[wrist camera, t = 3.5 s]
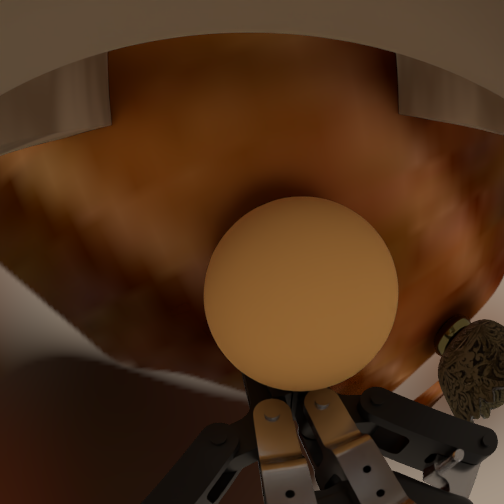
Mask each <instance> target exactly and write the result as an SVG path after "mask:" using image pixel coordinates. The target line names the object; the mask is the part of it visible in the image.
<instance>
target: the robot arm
mask: <svg viewBox="0 0 504 504" xmlns="http://www.w3.org/2000/svg"><path fill="white" fill-rule="evenodd" d="M242 376H243V381H244V385H245V390H246V395H247V399H248V403H249V408H250V410H249V412H248V413H247V415H246V416H245V417H244V418H242V419H241V420H239V421H237V422H235V423H232V424H230V425H228V424H225V423H213V424H210V425H208V426H206V427H205V428H204V429H203V430H202V431H201V433H200V434H199V435H198V436H197V438H196V439H195V440H194V441H193V443H192V444H191V445H190V446H189V448H188V449H187V450H186V451H185V453H184V454H183V455H182V456H181V458H180V459H179V460H178V461H177V463H176V464H175V465H174V466H173V467H172V468H171V470H170V471H169V472H168V473H167V474H166V475H165V477H164V478H163V479H162V480H161V481H160V483H159V484H158V485H157V486H156V487H155V488H154V489H153V490H152V492H151V493H150V494H149V495H148V496H147V497H146V499H144V501H143V502H142V503H141V504H218V503H219V501H220V500H221V498H222V497H223V496H224V494H225V493H226V491H227V490H228V489H229V487H230V486H231V484H232V483H233V481H234V480H235V478H236V477H237V475H238V474H239V473H240V471H241V469H242V468H244V467H246V466H248V465H250V464H252V463H254V462H256V461H258V464H259V470H260V477H261V484H262V491H263V498H264V504H473V503H472V502H471V501H470V500H469V499H468V498H469V495H470V493H471V490H472V487H473V485H474V481H475V479H476V476H477V473H478V469H479V467H480V464H481V462H482V461H483V460H484V459H486V458H487V457H488V456H490V455H491V454H492V453H493V452H494V451H495V450H496V448H497V444H498V440H497V435H496V433H495V432H494V431H493V430H492V429H490V428H487V427H484V426H481V425H478V424H475V423H472V422H469V421H466V420H463V419H460V418H457V417H454V416H451V415H449V414H446V413H443V412H441V411H438V410H435V409H433V408H430V407H428V406H425V405H423V404H420V403H418V402H415V401H413V400H410V399H408V398H405V397H403V396H400V395H398V394H396V393H393V392H391V391H389V390H386V389H384V388H381V387H371V388H369V389H367V390H365V391H364V392H363V394H362V395H341V394H338V393H336V392H334V391H333V390H331V389H330V388H329V387H327V388H323V389H319V390H314V391H288V390H281V389H277V388H272V387H269V386H267V385H264V384H261V383H259V382H257V381H255V380H253V379H252V378H250V377H248V376H247V375H245V374H244V373H243V372H242ZM293 420H296V421H297V424H298V427H299V428H298V435H299V438H300V440H301V442H302V444H303V446H304V449H305V451H306V453H307V455H308V458H309V460H310V462H311V464H312V466H313V469H314V472H315V479H316V482H317V485H318V486H319V489H320V491H314V489H313V485H312V481H311V477H310V473H309V469H308V465H307V462H306V459H305V457H304V456H303V455H302V453H301V450H300V446H299V442H298V438H297V434H296V429H295V425H294V422H293ZM383 456H385V457H388V458H390V459H392V460H395V461H397V462H399V463H402V464H405V465H407V466H410V467H412V468H415V469H418V470H420V471H423V481H424V482H426V483H428V484H430V485H428V484H426V483H423V482H420V481H417V480H415V479H413V478H411V477H408V476H406V475H403V474H401V473H398V472H395V471H392V470H391V468H390V467H389V465H388V463H387V462H386V460H385V458H384V457H383ZM431 485H432V486H431Z"/></svg>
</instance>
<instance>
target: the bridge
mask: <svg viewBox="0 0 504 504" xmlns="http://www.w3.org/2000/svg"><path fill="white" fill-rule="evenodd" d="M216 33H282V34H296V35H306V36H315V37H323V38H330V39H336V40H342V41H348V42H353V43H358V44H363V45H367V46H371V47H376V48H380V49H384V50H387V51H391V52H395V53H396V59H397V72H398V94H399V114H401V115H407V116H413V117H418V118H424V119H429V120H434V121H441V122H446V123H452V124H457V125H462V126H467V127H472V128H476V129H481V130H485V131H489V132H493V133H497V134H500V135H504V0H0V156H1V155H4V154H7V153H10V152H13V151H17V150H20V149H23V148H27V147H31V146H34V145H38V144H42V143H46V142H50V141H54V140H58V139H63V138H66V137H69V136H73V135H76V134H79V133H83V132H87V131H90V130H94V129H98V128H102V127H106V126H110V125H112V123H111V112H110V100H109V85H108V55H107V52H108V51H111V50H115V49H119V48H123V47H127V46H132V45H136V44H141V43H146V42H151V41H157V40H162V39H169V38H176V37H184V36H192V35H203V34H216Z"/></svg>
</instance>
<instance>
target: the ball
mask: <svg viewBox="0 0 504 504" xmlns="http://www.w3.org/2000/svg"><path fill="white" fill-rule="evenodd" d="M397 305H398V280H397V274H396V269H395V266H394V262H393V259H392V257H391V254H390V252H389V250H388V248H387V246H386V244H385V243H384V241H383V239H382V238H381V237H380V235H379V234H378V232H377V231H376V230H375V229H374V228H373V227H372V226H371V225H370V224H369V223H368V222H367V221H366V220H365V219H364V218H363V217H361V216H360V215H358V214H357V213H355V212H354V211H352V210H351V209H349V208H347V207H345V206H343V205H341V204H339V203H336V202H333V201H331V200H327V199H323V198H317V197H308V196H302V197H287V198H281V199H278V200H274V201H271V202H268V203H266V204H264V205H262V206H259V207H257V208H255V209H253V210H252V211H250V212H248V213H247V214H245V215H244V216H243V217H241V218H240V219H239V220H238V221H237V222H235V223H234V225H233V226H232V227H231V228H230V229H229V230H228V231H227V232H226V233H225V235H224V236H223V237H222V239H221V240H220V242H219V243H218V245H217V246H216V248H215V250H214V252H213V254H212V256H211V259H210V262H209V265H208V268H207V272H206V277H205V282H204V307H205V313H206V318H207V323H208V325H209V328H210V331H211V333H212V336H213V338H214V339H215V341H216V343H217V345H218V347H219V348H220V350H221V351H222V352H223V354H224V355H225V356H226V358H227V359H228V360H229V361H230V362H231V363H232V364H233V365H234V366H235V367H236V368H237V369H239V370H240V371H241V372H243V373H244V374H245V375H247V376H248V377H250V378H252V379H253V380H255V381H257V382H259V383H261V384H264V385H267V386H269V387H272V388H277V389H281V390H288V391H314V390H319V389H323V388H327V387H330V386H333V385H335V384H338V383H340V382H342V381H344V380H346V379H348V378H350V377H352V376H353V375H355V374H356V373H357V372H359V371H360V370H362V369H363V368H364V367H365V366H366V365H367V364H368V363H369V362H370V361H371V360H372V359H373V358H374V357H375V355H376V354H377V353H378V352H379V350H380V349H381V348H382V346H383V344H384V343H385V341H386V339H387V338H388V335H389V333H390V331H391V329H392V326H393V323H394V319H395V316H396V310H397Z"/></svg>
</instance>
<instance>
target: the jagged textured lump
mask: <svg viewBox="0 0 504 504" xmlns="http://www.w3.org/2000/svg"><path fill="white" fill-rule="evenodd" d="M434 348H435V351H436V353H437V354H438V355H440V356H442V357H441V359H440V363H439V367H438V379H439V383H440V386H441V389H442V392H443V394H444V396H445V398H446V400H447V402H448V404H449V406H450V408H451V410H452V412H453V414H454V417H457V418H460V419H463V420H466V421H469V422H472V423H474V422H473V419H479V418H480V415H481V416H482V417H483V418H484V419H486V418H489V416H490V410H492V409H495V408H497V407H500V406H501V405H503V404H504V326H502V325H501V324H499V323H497V322H495V321H492V320H486V319H483V320H478V321H475V322H473V323H471V322H470V320H469V318H468V317H466V316H464V315H456V316H454V317H452V318H451V319H450V320H448V321H447V322H446V323H445V324H444V325H443V326H442V328H441V329H440V330H439V332H438V334H437V336H436V338H435V341H434Z"/></svg>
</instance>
